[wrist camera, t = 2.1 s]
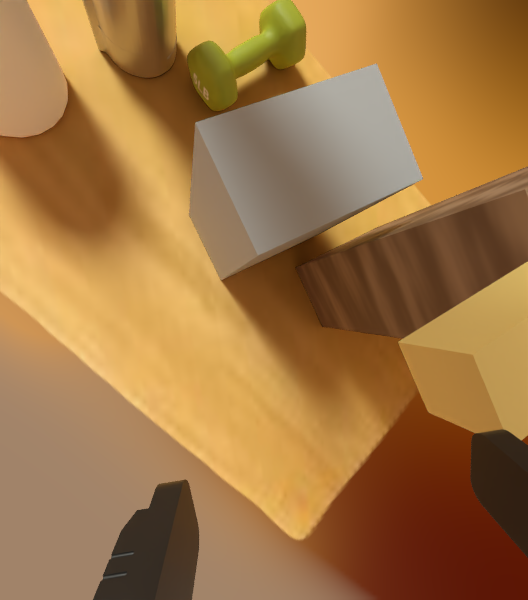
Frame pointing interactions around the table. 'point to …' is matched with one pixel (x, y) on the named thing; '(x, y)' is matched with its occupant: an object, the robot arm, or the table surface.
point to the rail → (477, 359)
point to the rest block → (295, 167)
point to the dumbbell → (248, 55)
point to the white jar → (27, 74)
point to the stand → (422, 261)
